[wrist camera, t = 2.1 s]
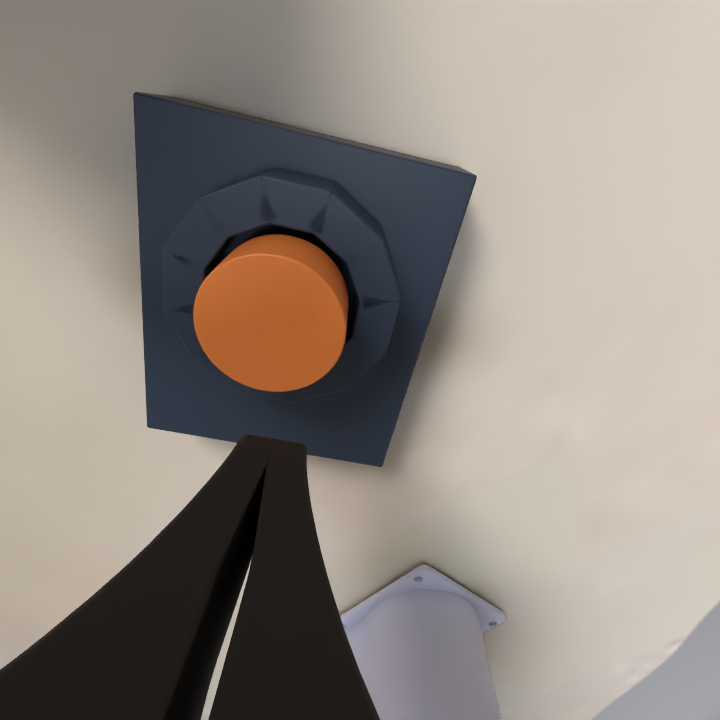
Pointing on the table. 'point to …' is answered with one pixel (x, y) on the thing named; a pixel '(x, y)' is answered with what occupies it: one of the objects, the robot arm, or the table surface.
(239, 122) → the dark blue button base
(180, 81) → the table surface
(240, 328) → the orange button
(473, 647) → the robot arm
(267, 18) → the table surface
